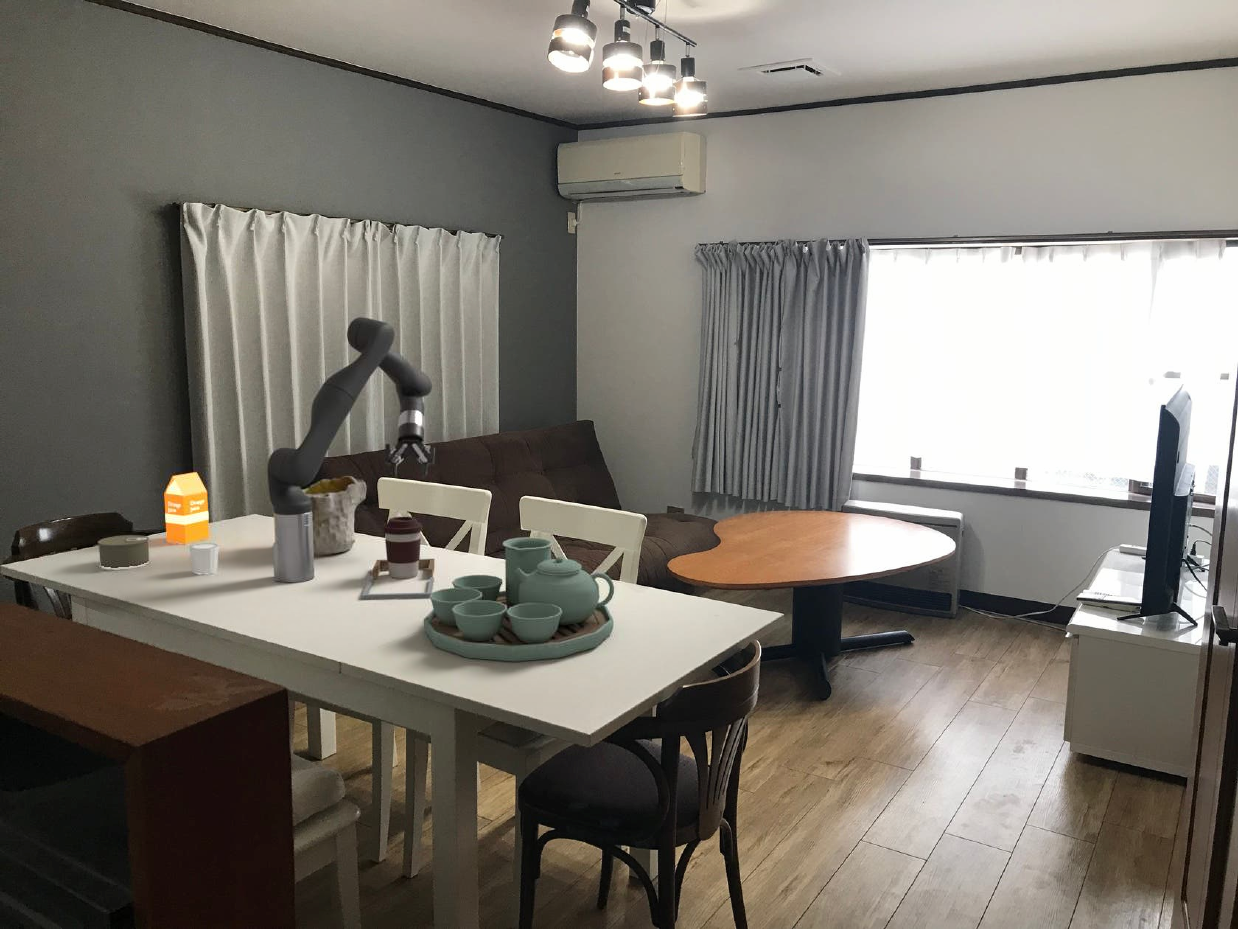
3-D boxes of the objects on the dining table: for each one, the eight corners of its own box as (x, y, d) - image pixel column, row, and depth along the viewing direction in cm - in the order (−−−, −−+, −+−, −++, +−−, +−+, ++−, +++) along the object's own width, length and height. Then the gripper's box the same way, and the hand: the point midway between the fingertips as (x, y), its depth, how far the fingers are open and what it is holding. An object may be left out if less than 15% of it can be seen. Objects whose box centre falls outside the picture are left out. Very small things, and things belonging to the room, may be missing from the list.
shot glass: (206, 576, 244) (205, 550, 243) (184, 574, 246) (183, 547, 245) (225, 570, 250) (224, 544, 249) (204, 568, 252) (203, 542, 251)
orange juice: (209, 539, 286) (206, 472, 283) (185, 545, 278) (182, 477, 275) (190, 536, 289) (187, 470, 286) (166, 542, 281) (162, 474, 278)
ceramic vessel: (245, 530, 259) (276, 452, 271) (290, 568, 279) (317, 494, 292) (318, 535, 253) (347, 455, 265) (358, 574, 273) (384, 497, 285)
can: (100, 562, 257) (98, 537, 256) (149, 557, 263) (148, 533, 262) (99, 572, 247) (97, 546, 246) (150, 567, 252) (149, 542, 251)
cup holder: (372, 580, 243) (372, 570, 242) (377, 569, 254) (376, 559, 253) (432, 579, 245) (432, 569, 244) (434, 567, 256) (434, 558, 256)
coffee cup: (401, 583, 241) (400, 524, 239) (375, 576, 247) (374, 519, 244) (431, 575, 249) (430, 518, 246) (405, 568, 254) (404, 513, 252)
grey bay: (362, 599, 226) (361, 595, 226) (369, 582, 241) (369, 578, 240) (431, 597, 228) (430, 593, 228) (434, 581, 243) (433, 577, 243)
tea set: (401, 620, 212) (399, 547, 210) (563, 597, 232) (563, 530, 229) (464, 678, 178) (463, 592, 175) (648, 645, 197) (649, 567, 195)
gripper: (384, 421, 272) (381, 468, 263) (435, 421, 274) (434, 467, 265) (387, 437, 278) (383, 483, 269) (437, 437, 280) (435, 483, 271)
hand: (408, 475), depth 267 cm, fingers open, 7 cm apart
